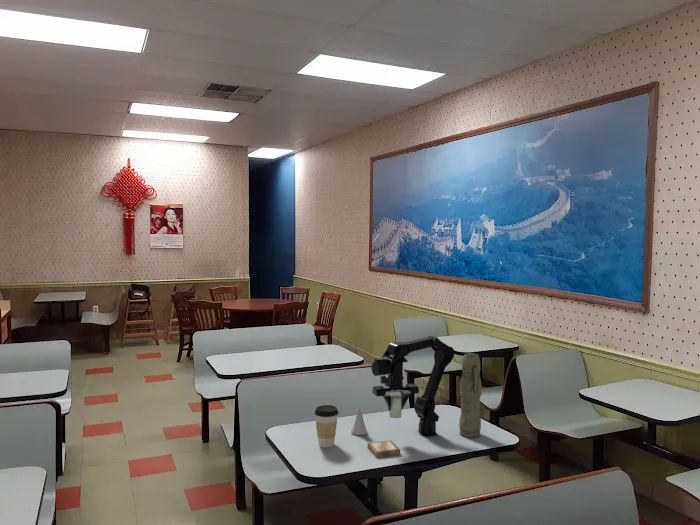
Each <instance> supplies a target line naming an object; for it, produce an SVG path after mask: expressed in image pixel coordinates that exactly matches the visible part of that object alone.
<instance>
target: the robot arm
mask: <svg viewBox="0 0 700 525" xmlns="http://www.w3.org/2000/svg"><path fill="white" fill-rule="evenodd" d="M428 348H431V350H432V351H433V352H434V354H433V358H434V359H433V360H434V364H433V367H432V370H431V372H430V376H429V378H428V381H427V384H426V386H425V389H424V392H423V393H422V395H421V396H417V397H416V399H415V402H414V404H413V406H414V409H413V410H414V412H415V414H416V415H417V418H419V422H418V430H417V432H418V433H419V434H420V435H422V437H431V436H438V433H437V432H436V431H437V427H436V426H437V422H439V419H440V416H439V415H438V413H436V411H435V409H436V402H435V398H436V396H437V393H438V390H439V386H440V384H441V381H442V379H443V375H444V373H445V370H446V367H448V366H449V364H450V363H452V361H453V359H454V358H455V349H454V347H452V346H449V345H447V344H446V343H445V342H443V341H441V340H440V339H439V338H438V337H436V336H432V335H427V337H422V338H418V339H414V340H410V341H392V342H390V343H389V344H388V345H387V349H385V352H384V353H383V355H382V357H381V358H374V361H373V362H372V365H371V367H370V368H371V373H372V375H373V376H374V377H378V376H379V377H380V378H379V379H380V380H379V381H380V385H374V386H373V387H372V392H371V393H372V394H374V395H375V397H382V398H383V399H384V400H385V403H386V407H387V410H388V412H389V411H390V409H391V396H392V395H390V393H400V396H401V397H402V409H401V411H402V410H403V409H404V407H405V405H406V403H407V401H408V399H409V398H410V397H412V395H415V394H416V395H417V394H419V393H420V388H419V386H418V385H416V384H415V383H406V384H405V386H404V384H403V383H404V382H403V380H404V379H405V376H404V363H408V361H409V360H408V359H407V358H405V357H406V356H408V355H409V354H410V353H412V352H417V351H419V350H420V351H421V350H423V349H428ZM386 376H387V377H386ZM383 385H384V386H383Z"/></svg>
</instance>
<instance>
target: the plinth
mask: <svg viewBox="0 0 700 525" xmlns="http://www.w3.org/2000/svg"><path fill="white" fill-rule="evenodd" d="M367 449H368V450H369V451H370V452H371V454H372V455H373V456H374V458H382V457H389V456H400V455H401V449H400V448H399V447H398V446H397V445H396V444H395V443H394V442H393V441H392V440H391V439H390V440H383V441H382V440H381V441H374V442H373V441H372V442H367Z"/></svg>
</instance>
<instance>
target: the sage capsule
mask: <svg viewBox="0 0 700 525" xmlns="http://www.w3.org/2000/svg"><path fill="white" fill-rule="evenodd" d="M390 396H391V409H390V411H389V410H388V412H389V415H388V416H389V418H391V419H400V418H402V410H401V409H402V397H401V395H390Z"/></svg>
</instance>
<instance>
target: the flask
mask: <svg viewBox="0 0 700 525" xmlns="http://www.w3.org/2000/svg"><path fill="white" fill-rule="evenodd" d="M355 412H356V415H355V419H354V423H353V426H352V429H351V430H350V432H351V433H350V434H352V435H354V436H364V435H367V434H368V430H367V427H366V424H365V419H364V417H363V416H364V415H363V412H364V410H363V409H361V408H357V409H356V410H355Z"/></svg>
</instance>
